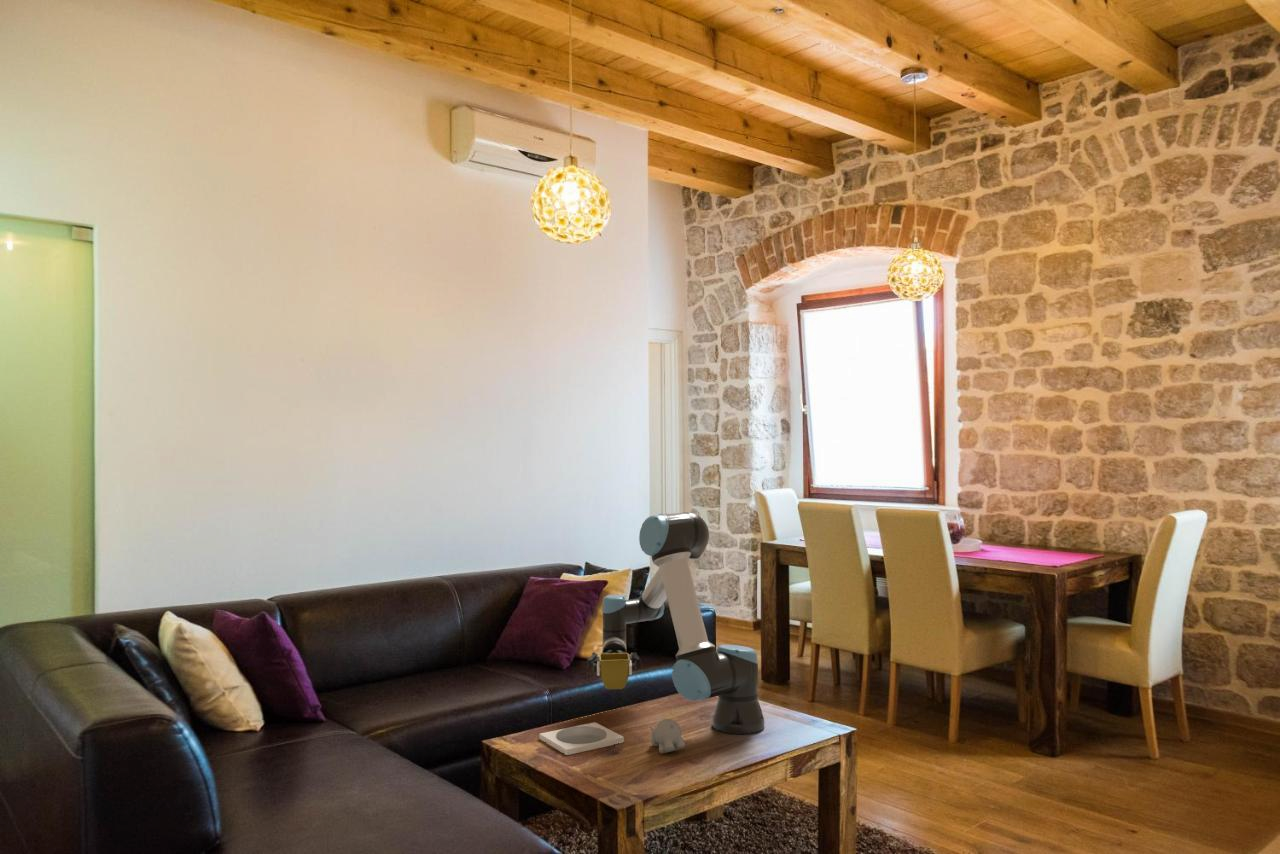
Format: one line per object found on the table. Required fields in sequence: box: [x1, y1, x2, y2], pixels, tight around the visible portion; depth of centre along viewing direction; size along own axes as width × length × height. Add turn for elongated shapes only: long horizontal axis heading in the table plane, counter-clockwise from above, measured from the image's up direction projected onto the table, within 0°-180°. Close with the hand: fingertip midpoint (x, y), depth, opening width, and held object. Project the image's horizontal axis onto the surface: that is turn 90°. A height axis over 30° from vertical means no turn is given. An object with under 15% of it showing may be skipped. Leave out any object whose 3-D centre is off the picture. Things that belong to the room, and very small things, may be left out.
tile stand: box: [539, 721, 625, 756], centre depth 249 cm, size 16×18×2 cm
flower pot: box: [598, 652, 630, 690], centre depth 259 cm, size 9×9×9 cm
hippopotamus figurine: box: [650, 718, 686, 754], centre depth 241 cm, size 7×12×8 cm, turn 30°
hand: (614, 670), depth 255 cm, fingers closed on flower pot, 8 cm apart
